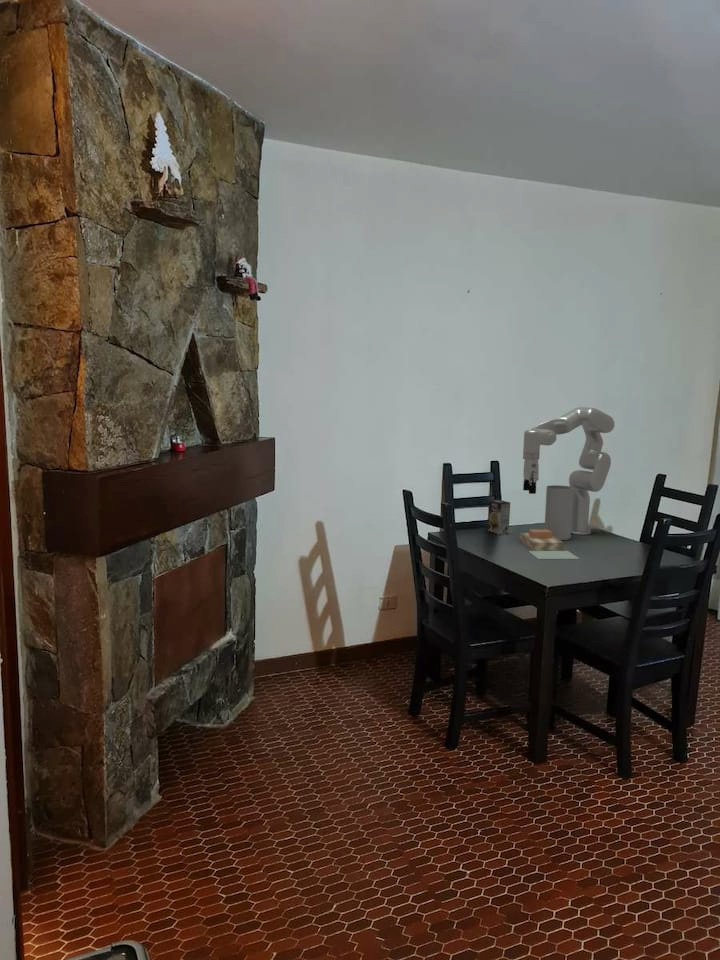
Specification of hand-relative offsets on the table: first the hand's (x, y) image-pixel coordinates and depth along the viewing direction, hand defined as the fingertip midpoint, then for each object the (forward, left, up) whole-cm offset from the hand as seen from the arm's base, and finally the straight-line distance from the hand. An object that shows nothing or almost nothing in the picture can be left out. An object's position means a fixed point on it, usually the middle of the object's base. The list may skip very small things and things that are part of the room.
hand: (529, 491), depth 332 cm
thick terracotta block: (-2, +12, -18) cm, 21 cm away
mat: (-2, +30, -23) cm, 38 cm away
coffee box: (+10, -16, -24) cm, 30 cm away
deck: (-2, +13, -23) cm, 27 cm away
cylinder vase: (-16, -4, -24) cm, 29 cm away
